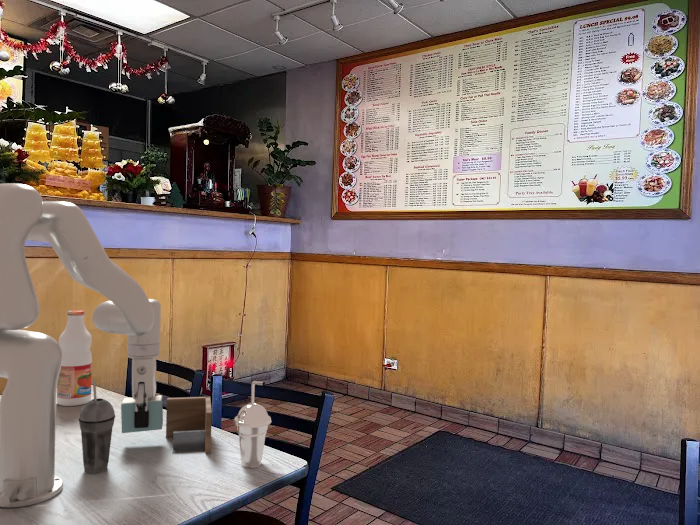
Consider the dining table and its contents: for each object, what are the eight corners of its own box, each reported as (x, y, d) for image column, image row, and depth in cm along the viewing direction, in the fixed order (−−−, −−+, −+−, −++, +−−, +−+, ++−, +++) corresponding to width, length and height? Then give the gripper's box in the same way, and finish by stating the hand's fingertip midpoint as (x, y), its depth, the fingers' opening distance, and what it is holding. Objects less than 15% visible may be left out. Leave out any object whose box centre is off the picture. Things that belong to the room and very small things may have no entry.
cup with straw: (269, 456, 130) (272, 372, 129) (270, 472, 121) (273, 382, 120) (233, 457, 128) (235, 372, 128) (231, 473, 119) (233, 382, 119)
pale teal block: (161, 429, 133) (161, 400, 132) (121, 433, 130) (121, 403, 130) (162, 422, 138) (162, 394, 137) (124, 426, 135) (123, 397, 135)
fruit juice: (61, 398, 171) (63, 309, 170) (94, 397, 173) (96, 309, 172) (52, 407, 161) (54, 312, 161) (87, 406, 164) (89, 313, 163)
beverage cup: (121, 466, 121) (123, 376, 120) (98, 479, 114) (100, 384, 113) (93, 462, 123) (95, 373, 122) (69, 474, 116) (71, 380, 115)
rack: (210, 454, 130) (211, 412, 129) (162, 457, 127) (164, 414, 127) (209, 434, 143) (210, 396, 143) (166, 436, 140) (167, 398, 140)
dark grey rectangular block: (205, 451, 131) (205, 435, 131) (172, 454, 129) (172, 437, 129) (204, 445, 135) (205, 429, 135) (173, 447, 133) (173, 431, 133)
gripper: (157, 356, 126) (156, 434, 127) (162, 343, 142) (160, 412, 143) (122, 357, 124) (121, 436, 125) (131, 343, 140) (130, 413, 141)
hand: (142, 422), depth 134 cm, fingers closed on pale teal block, 5 cm apart
